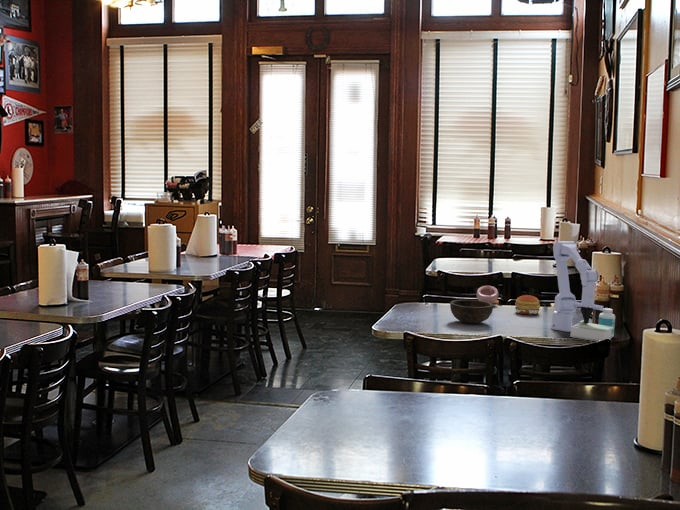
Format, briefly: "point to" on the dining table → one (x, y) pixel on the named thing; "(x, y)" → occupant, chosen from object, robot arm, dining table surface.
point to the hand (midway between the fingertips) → (586, 323)
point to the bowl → (471, 310)
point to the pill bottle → (607, 319)
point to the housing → (589, 333)
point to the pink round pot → (487, 294)
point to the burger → (527, 304)
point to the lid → (595, 326)
